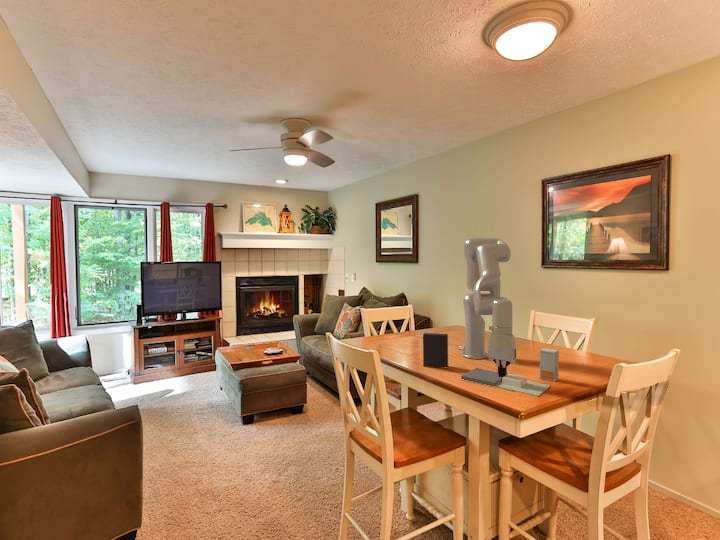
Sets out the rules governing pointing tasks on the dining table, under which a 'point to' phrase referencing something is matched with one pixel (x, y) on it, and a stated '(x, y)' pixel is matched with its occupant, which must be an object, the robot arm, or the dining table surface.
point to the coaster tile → (514, 380)
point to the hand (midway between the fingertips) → (502, 376)
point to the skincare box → (549, 364)
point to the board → (483, 377)
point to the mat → (527, 388)
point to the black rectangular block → (435, 350)
